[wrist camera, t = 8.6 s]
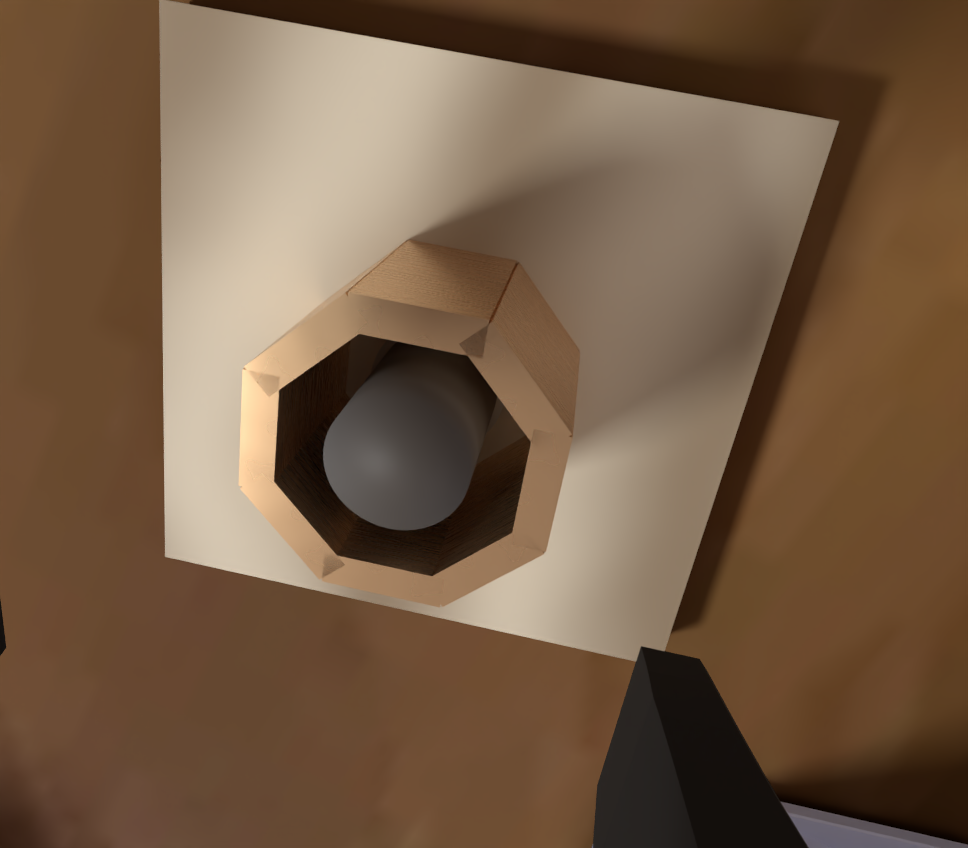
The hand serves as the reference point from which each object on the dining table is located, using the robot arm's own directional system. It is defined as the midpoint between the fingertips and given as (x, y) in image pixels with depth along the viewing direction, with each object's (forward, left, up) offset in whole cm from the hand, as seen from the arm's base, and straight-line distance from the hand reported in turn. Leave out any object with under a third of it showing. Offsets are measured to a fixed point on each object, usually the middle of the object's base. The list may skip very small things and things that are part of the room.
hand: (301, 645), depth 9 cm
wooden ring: (0, 0, -8) cm, 8 cm away
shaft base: (0, 0, -9) cm, 9 cm away
